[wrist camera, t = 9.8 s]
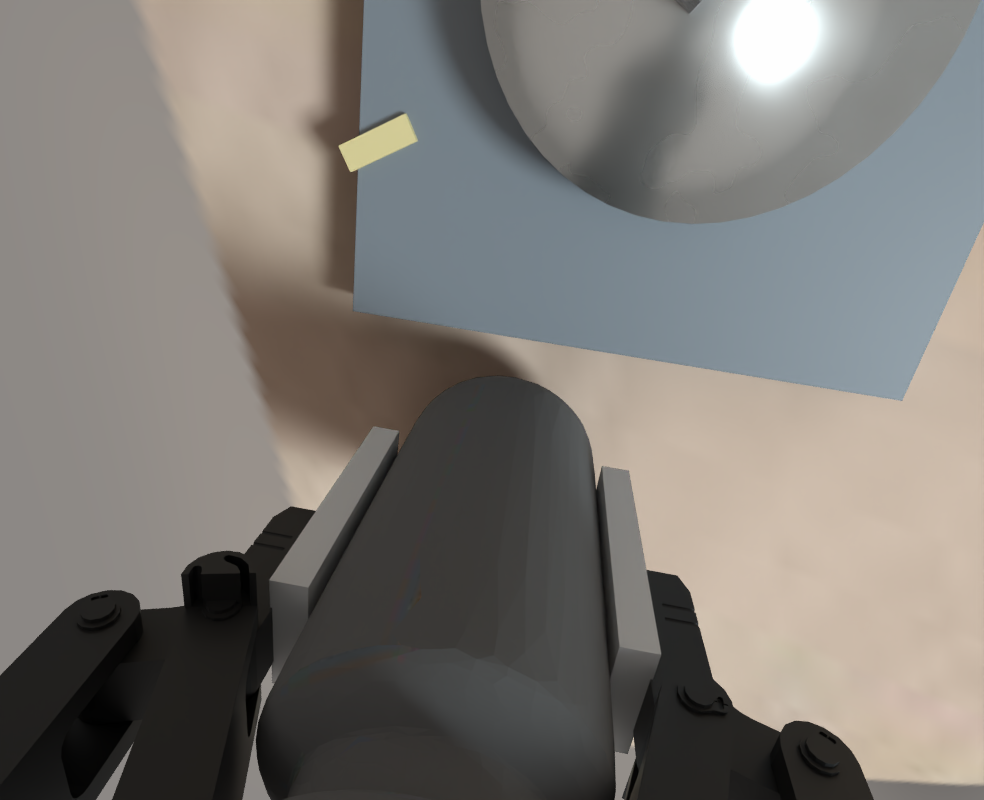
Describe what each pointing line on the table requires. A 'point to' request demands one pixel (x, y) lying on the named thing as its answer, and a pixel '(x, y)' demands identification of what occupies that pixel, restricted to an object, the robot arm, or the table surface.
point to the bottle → (459, 622)
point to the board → (651, 227)
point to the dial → (715, 93)
